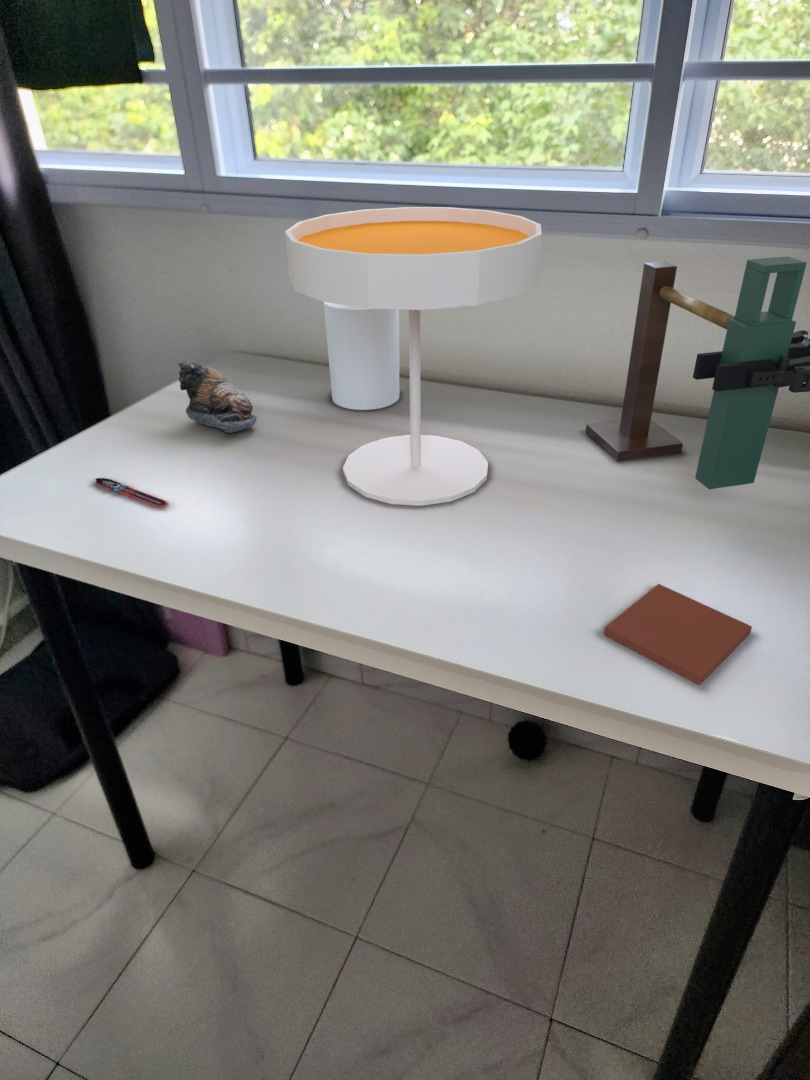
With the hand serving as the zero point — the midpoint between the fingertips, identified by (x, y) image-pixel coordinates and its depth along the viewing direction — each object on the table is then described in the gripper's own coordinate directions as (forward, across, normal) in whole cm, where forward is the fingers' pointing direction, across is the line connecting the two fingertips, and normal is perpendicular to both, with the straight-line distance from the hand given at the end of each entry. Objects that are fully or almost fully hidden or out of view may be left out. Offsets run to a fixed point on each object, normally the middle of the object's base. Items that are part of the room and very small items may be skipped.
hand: (707, 372), depth 81 cm
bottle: (+28, +50, -19) cm, 60 cm away
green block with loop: (-5, 0, -14) cm, 15 cm away
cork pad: (+12, -19, -19) cm, 29 cm away
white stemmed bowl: (+27, +22, -19) cm, 39 cm away
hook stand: (-5, +15, -18) cm, 25 cm away
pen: (+65, +25, -19) cm, 72 cm away
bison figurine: (+53, +44, -19) cm, 71 cm away
